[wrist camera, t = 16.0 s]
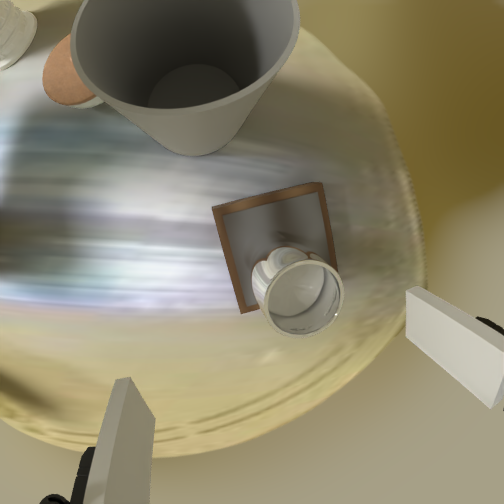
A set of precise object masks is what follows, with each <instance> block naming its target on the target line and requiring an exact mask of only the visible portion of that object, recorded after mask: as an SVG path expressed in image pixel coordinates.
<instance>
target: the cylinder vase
mask: <svg viewBox="0 0 504 504" xmlns="http://www.w3.org/2000/svg"><path fill="white" fill-rule="evenodd" d="M299 28H300V12H299V7H298V3H297V0H84V1H83V3H82V5H81V7H80V8H79V10H78V12H77V15H76V17H75V20H74V23H73V26H72V31H71V38H70V51H71V57H72V62H73V65H74V67H75V70H76V72H77V74H78V76H79V77H80V79H81V80H82V82H83V83H84V84H85V85H86V87H87V88H88V89H89V90H90V91H91V92H93V93H94V94H95V95H96V96H98V97H99V98H100V99H102V100H103V101H104V102H106V103H107V104H108V105H110V106H111V107H112V108H114V109H115V110H116V111H118V112H119V113H120V114H122V115H123V116H124V117H126V118H127V119H128V120H130V121H131V122H132V123H134V124H135V125H136V126H138V127H139V128H140V129H142V130H143V131H144V132H145V133H147V134H148V135H149V136H151V137H152V138H153V139H155V140H156V141H157V142H158V143H160V144H161V145H162V146H164V147H165V148H166V149H168V150H170V151H172V152H174V153H177V154H180V155H185V156H201V155H206V154H209V153H212V152H215V151H217V150H219V149H220V148H222V147H223V146H225V145H226V144H227V143H229V142H230V141H231V140H232V139H233V137H234V136H235V135H236V133H237V132H238V130H239V129H240V127H241V126H242V124H243V123H244V121H245V120H246V118H247V117H248V115H249V114H250V112H251V111H252V109H253V108H254V106H255V105H256V103H257V102H258V100H259V99H260V97H261V96H262V94H263V93H264V92H265V90H266V89H267V87H268V86H269V84H270V83H271V82H272V80H273V79H274V77H275V76H276V74H277V73H278V72H279V70H280V69H281V68H282V66H283V65H284V63H285V62H286V61H287V59H288V58H289V56H290V54H291V53H292V51H293V49H294V46H295V44H296V41H297V38H298V34H299Z"/></svg>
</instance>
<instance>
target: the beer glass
mask: <svg viewBox="0 0 504 504" xmlns="http://www.w3.org/2000/svg"><path fill="white" fill-rule="evenodd" d="M243 259H244V263H245V266H246V267H247V269H248V270H249V272H250V273H251V287H252V291H253V294H254V297H255V300H256V302H257V304H258V306H259V308H260V309H261V311H262V312H263V314H264V316H265V317H266V319H267V321H268V323H269V324H270V325H271V327H272V328H273V329H274V330H276V331H277V332H278V333H280V334H282V335H284V336H287V337H290V338H306V337H310V336H313V335H316V334H318V333H320V332H322V331H323V330H325V329H326V328H327V327H328V326H330V325H331V324H332V323H333V321H334V320H335V319H336V317H337V316H338V314H339V312H340V310H341V308H342V305H343V301H344V286H343V283H342V280H341V278H340V276H339V274H338V273H337V272H336V271H335V270H334V269H333V268H332V267H331V266H330V265H329V264H328V263H327V262H326V261H325V260H324V259H323V258H322V257H321V256H319V255H318V254H317V253H316V252H314V251H313V250H311V249H309V248H308V247H306V246H304V245H301V244H298V243H295V242H289V240H288V239H287V238H286V237H285V236H284V235H283V234H281V233H279V232H277V231H273V230H264V231H261V232H258V233H256V234H255V235H253V236H252V237H251V238H250V239H249V240H248V242H247V243H246V245H245V248H244V252H243Z"/></svg>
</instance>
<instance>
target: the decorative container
mask: <svg viewBox="0 0 504 504" xmlns="http://www.w3.org/2000/svg"><path fill="white" fill-rule="evenodd" d="M36 30H37V19H36V17H35V15H33V14H32V13H31V12H29V11H21V9H20V8H18V7H15V6H14V4H13V3H12V2H11V1H9V0H0V71H1V70H4V69H6V68H8V67H10V66H11V65H12V64H14V63H15V62H16V61H17V60H18V59H19V58H20V57H21V56H22V55H23V54H24V53H25V51H26V50H27V49H28V47H29V46H30V44H31V42H32V40H33V38H34V36H35V33H36Z"/></svg>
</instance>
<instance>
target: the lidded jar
mask: <svg viewBox="0 0 504 504" xmlns="http://www.w3.org/2000/svg"><path fill="white" fill-rule="evenodd" d="M70 38H71V34H69V35H67V36H66V37H65V38H64V39H62V40H61V41H60V42H59V43H58V44H57V45H56V47H55V48H54V49H53V50H52V52H51V53H50V55H49V57H48V59H47V61H46V64H45V66H44V71H43V86H44V90H45V92H46V94H47V95H48V96H49V98H51V99H52V100H53V101H55V102H57V103H59V104H62V105H66V106H68V107H73V108H91V107H94V106H97V105H99V104H102V103H103V102H104V101H103V100H102V99H100V98H99V97H98V96H96V95H95V94H94V93H93V92H91V91H90V90H89V89H88V88H87V87H86V85H85V84H84V83H83V82H82V80H81V79H80V77H79V76H78V74H77V72H76V70H75V67H74V65H73V62H72V57H71V51H70Z"/></svg>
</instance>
